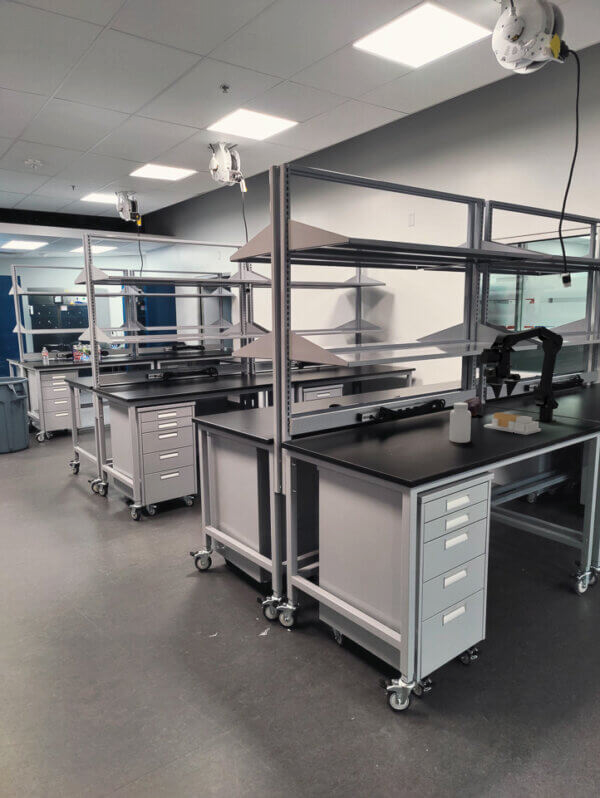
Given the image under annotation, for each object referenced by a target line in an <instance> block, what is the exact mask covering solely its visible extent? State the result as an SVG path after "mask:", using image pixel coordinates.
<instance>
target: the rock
mask: <svg viewBox="0 0 600 798" xmlns="http://www.w3.org/2000/svg"><path fill="white" fill-rule="evenodd" d="M462 403H467V404H468V409H467V410H469V411H470V412H471V417H472V416H473V417H476V416H477V415H478V414H479V411H480V409H481V408H482V406H483V403H482V401H481V400H480V398H479V397H476V396H474V397H471V398H468V399H466V400H464V401H462Z"/></svg>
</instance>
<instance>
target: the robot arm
mask: <svg viewBox="0 0 600 798" xmlns="http://www.w3.org/2000/svg"><path fill="white" fill-rule="evenodd" d="M536 337H537V339H538V340H539V341H540V342H541V343H542V344H541V346H542V347H541V348H542V350H543V352H544V355H543V361H542V368H541V374H540V380H539V385H538V386H537V387H533V393H532V399H533V401H534V404H535V406H536V407H538V408H539V413H538V418H536V419H535V421H536V422H544V423H552V422H556V421H557V419H555V418H554V410H557V409H559V405H560V404H559V403H558V401H557V400H556V399H555V392H554V390H553V386H552V384H553V379H554V373H555V367H556V366H555V365H556V361H557V355H558V353H559V352H560V350H561V349H562V346H563V344H564V337H563V336H562V335H561V334H558V333H556V332H554V331H553V330H550V329H548V328H547V327H546V326H544V325H537V326H534V327H532V328H531V327H530V328H528V329H524V330H520V331H516V332H513V333H511V332H510V333H499V334H497V335H496V337H495V339H494V341H493V343H492V344H491V346H490V348H487V347H486V348H484V347H483V350H482V352H481V353H480V355H479V360H480V363H481V364H483V365H490V364H491V365H493V364H494V367H493V368H492V369H490V368H489V367H488V368H484V369H483V371H482V375H483V376H484V377H485V384H487V385H488V386H489V387H490V388H491V389H492V392H493V395H494V398H495V400H499V398H500V395H501V391H502V388H503V383H505V387H506V388H505V389H506V397H509V398H510V397H511V395H512V393H513V392H514V390H515V388H516V386H517V385H518V383H520V380H521V375H520V373H511V369H512V368H513V367H514V365H513V364H512V353H516V350H515V349H514V348H513V346H515V345H517V344H518V343H520V342H522V341H526V340H530V339H533V338H536ZM495 364H496V365H495Z"/></svg>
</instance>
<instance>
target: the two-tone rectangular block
mask: <svg viewBox="0 0 600 798" xmlns="http://www.w3.org/2000/svg"><path fill="white" fill-rule="evenodd" d="M493 418H496V419H499V423H498V425H499V426H505V427H508V424H509V421H514V422H518V423H524V424H529V423H532V421H533V416H527V415H518V414H513V413H512V414H511V413H504V412H499V411H498V412H494V413H493Z"/></svg>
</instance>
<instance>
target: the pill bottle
mask: <svg viewBox="0 0 600 798" xmlns="http://www.w3.org/2000/svg"><path fill="white" fill-rule="evenodd" d="M467 409H468V404H467V403H463V401H462V402H460V401H459V402H458V401H457V402H455V403H453V409H452V410H450V413H449V437H448V438H449V441H451V442H452V443H453V442H454V443H460V444H461V443H462V444H463V443H465V444H466V443H469V442H470V441H471V429H472V427H471V426H472V416H471V412H470V411H469V410H467Z"/></svg>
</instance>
